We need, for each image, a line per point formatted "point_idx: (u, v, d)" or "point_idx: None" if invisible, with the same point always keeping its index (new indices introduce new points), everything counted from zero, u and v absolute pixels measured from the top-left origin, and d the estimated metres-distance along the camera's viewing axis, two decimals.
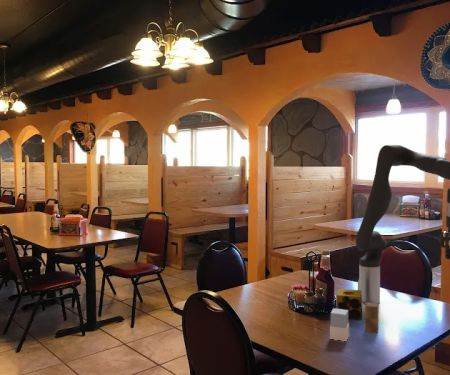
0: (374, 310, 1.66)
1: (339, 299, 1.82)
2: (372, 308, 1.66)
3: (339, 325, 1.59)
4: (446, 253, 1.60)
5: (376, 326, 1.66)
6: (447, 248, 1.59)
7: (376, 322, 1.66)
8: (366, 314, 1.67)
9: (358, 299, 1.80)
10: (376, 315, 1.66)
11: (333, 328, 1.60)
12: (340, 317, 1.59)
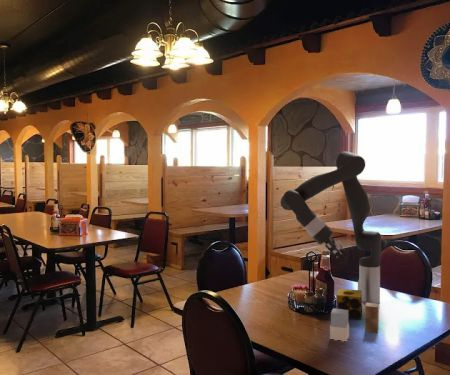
0: (374, 310, 1.66)
1: (339, 299, 1.82)
2: (372, 308, 1.66)
3: (339, 325, 1.59)
4: None
5: (376, 326, 1.66)
6: None
7: (376, 322, 1.66)
8: (366, 314, 1.67)
9: (358, 299, 1.80)
10: (376, 315, 1.66)
11: (333, 328, 1.60)
12: (340, 317, 1.59)
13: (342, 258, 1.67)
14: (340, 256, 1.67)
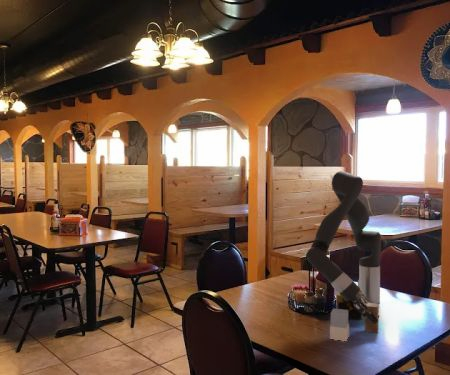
0: (374, 309, 1.66)
1: (339, 299, 1.82)
2: (372, 308, 1.66)
3: (339, 325, 1.59)
4: None
5: (376, 326, 1.66)
6: None
7: None
8: None
9: None
10: (376, 315, 1.66)
11: (333, 328, 1.60)
12: (340, 317, 1.59)
13: (371, 318, 1.65)
14: (369, 316, 1.65)
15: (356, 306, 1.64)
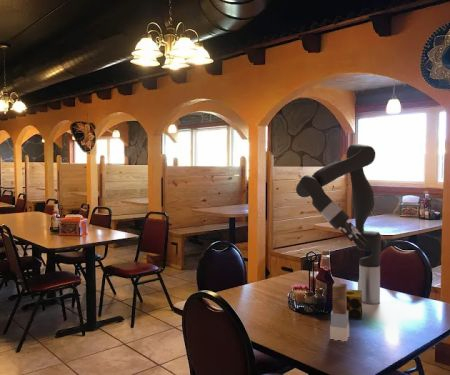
0: (341, 290, 1.58)
1: None
2: (340, 289, 1.58)
3: (339, 325, 1.59)
4: None
5: (344, 307, 1.58)
6: None
7: (344, 303, 1.58)
8: (333, 295, 1.59)
9: (358, 299, 1.80)
10: (344, 295, 1.58)
11: (333, 328, 1.60)
12: (340, 317, 1.58)
13: (358, 242, 1.66)
14: (356, 240, 1.67)
15: (343, 229, 1.67)
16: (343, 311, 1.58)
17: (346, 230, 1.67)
